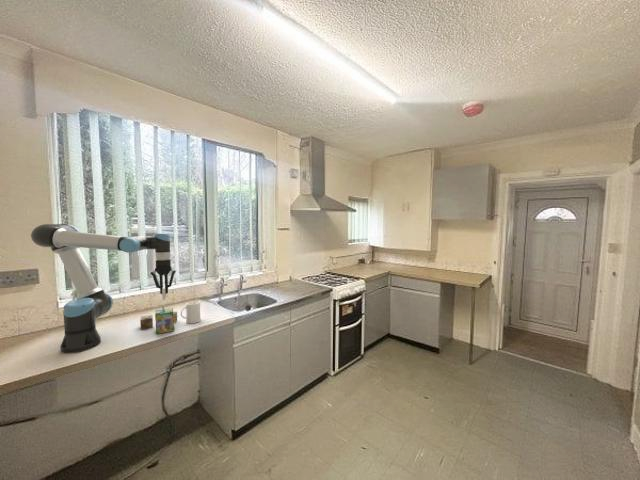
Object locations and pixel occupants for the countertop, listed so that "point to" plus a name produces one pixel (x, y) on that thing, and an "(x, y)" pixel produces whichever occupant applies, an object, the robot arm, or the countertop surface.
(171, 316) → the chalk box
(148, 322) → the walnut block
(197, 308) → the mug
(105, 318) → the countertop surface
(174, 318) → the walnut block
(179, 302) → the countertop surface
